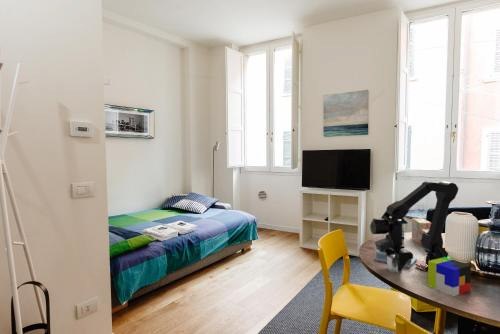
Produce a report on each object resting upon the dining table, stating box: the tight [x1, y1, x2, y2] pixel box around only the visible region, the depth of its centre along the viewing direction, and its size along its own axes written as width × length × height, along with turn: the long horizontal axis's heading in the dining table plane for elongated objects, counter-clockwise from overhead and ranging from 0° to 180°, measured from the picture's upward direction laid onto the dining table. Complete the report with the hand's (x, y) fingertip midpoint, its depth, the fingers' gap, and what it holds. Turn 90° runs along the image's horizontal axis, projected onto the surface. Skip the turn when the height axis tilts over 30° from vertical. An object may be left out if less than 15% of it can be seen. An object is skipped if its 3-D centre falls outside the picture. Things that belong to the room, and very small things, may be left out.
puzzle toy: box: [427, 257, 472, 297], centre depth 120 cm, size 10×10×10 cm
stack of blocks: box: [411, 217, 431, 247], centre depth 174 cm, size 21×6×12 cm, turn 171°
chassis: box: [374, 249, 418, 269], centre depth 150 cm, size 16×11×4 cm
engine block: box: [386, 254, 404, 273], centre depth 139 cm, size 5×4×7 cm
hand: (394, 267), depth 139 cm, fingers open, 8 cm apart
